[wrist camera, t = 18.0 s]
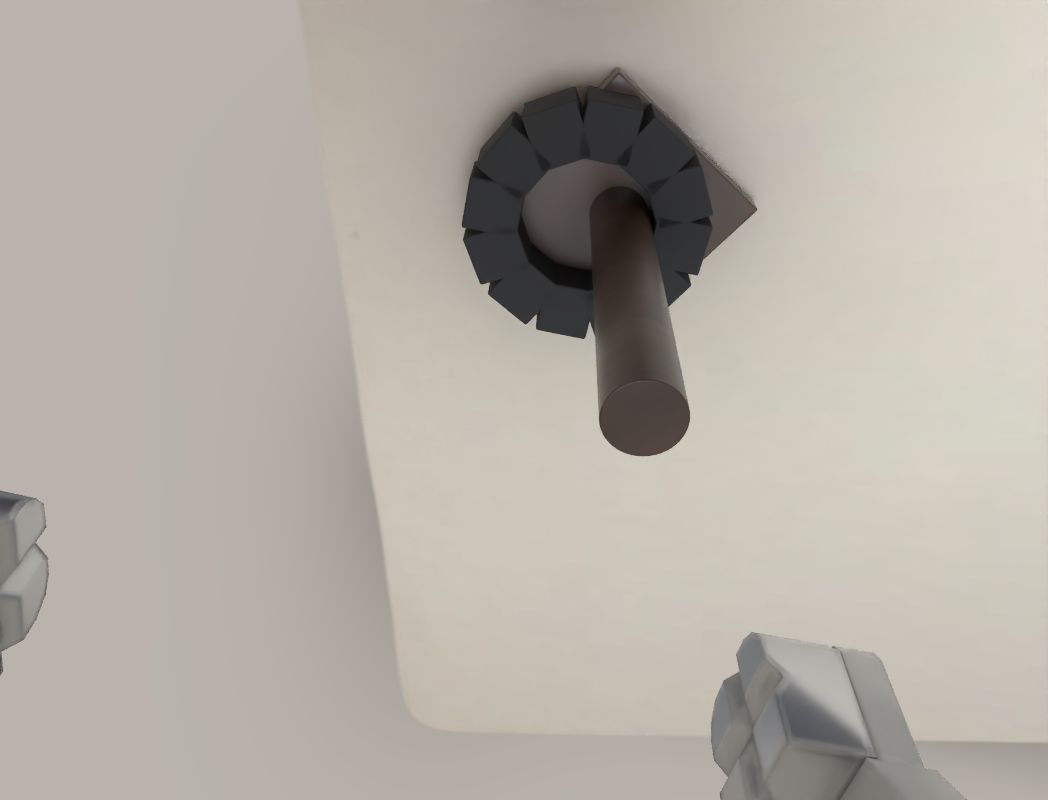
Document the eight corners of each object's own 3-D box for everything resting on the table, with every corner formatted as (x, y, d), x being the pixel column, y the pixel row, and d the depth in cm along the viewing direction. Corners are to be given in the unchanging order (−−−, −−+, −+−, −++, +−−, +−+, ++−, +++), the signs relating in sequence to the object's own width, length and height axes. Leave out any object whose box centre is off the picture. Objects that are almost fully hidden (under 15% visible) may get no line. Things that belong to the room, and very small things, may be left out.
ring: (422, 216, 39) (414, 235, 37) (579, 33, 35) (580, 44, 33) (590, 355, 42) (591, 379, 40) (753, 200, 38) (763, 219, 36)
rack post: (483, 211, 40) (433, 423, 25) (617, 66, 37) (647, 214, 22) (617, 327, 43) (641, 582, 28) (754, 202, 39) (862, 414, 25)
